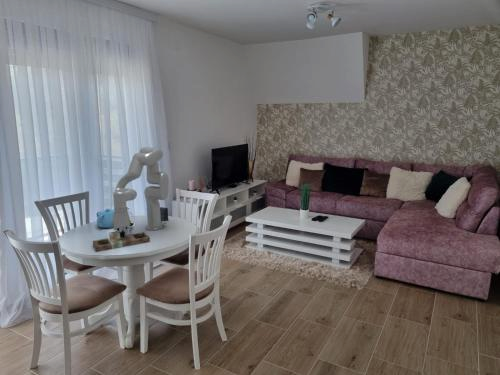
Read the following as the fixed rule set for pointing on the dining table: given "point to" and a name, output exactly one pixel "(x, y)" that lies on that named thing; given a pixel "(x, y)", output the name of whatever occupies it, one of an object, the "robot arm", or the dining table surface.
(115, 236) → the birch block
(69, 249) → the dining table surface
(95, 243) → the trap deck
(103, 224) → the decorative pot
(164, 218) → the small box
